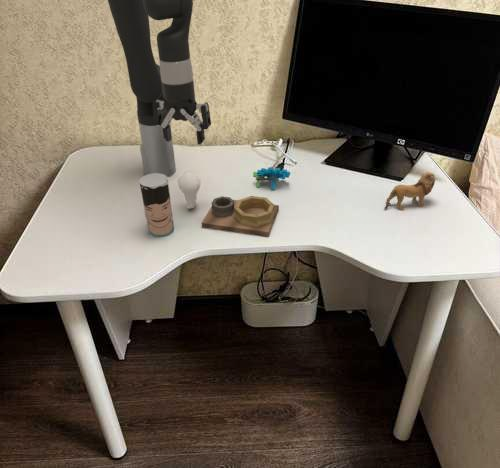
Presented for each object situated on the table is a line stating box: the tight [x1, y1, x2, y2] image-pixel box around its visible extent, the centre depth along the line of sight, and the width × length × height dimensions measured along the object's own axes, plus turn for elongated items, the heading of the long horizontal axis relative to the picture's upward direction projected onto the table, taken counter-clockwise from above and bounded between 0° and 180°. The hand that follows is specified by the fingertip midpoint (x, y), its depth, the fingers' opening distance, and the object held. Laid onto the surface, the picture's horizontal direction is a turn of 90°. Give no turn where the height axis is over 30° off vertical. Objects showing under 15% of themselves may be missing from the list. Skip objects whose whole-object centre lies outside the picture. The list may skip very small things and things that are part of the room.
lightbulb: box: [177, 171, 202, 209], centre depth 126 cm, size 6×6×11 cm
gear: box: [252, 167, 291, 191], centre depth 137 cm, size 11×6×10 cm
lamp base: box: [201, 195, 280, 238], centre depth 123 cm, size 18×13×4 cm
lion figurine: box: [384, 171, 436, 211], centre depth 126 cm, size 15×5×9 cm, turn 111°
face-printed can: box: [139, 173, 175, 239], centre depth 116 cm, size 7×7×15 cm
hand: (184, 141), depth 118 cm, fingers open, 8 cm apart
